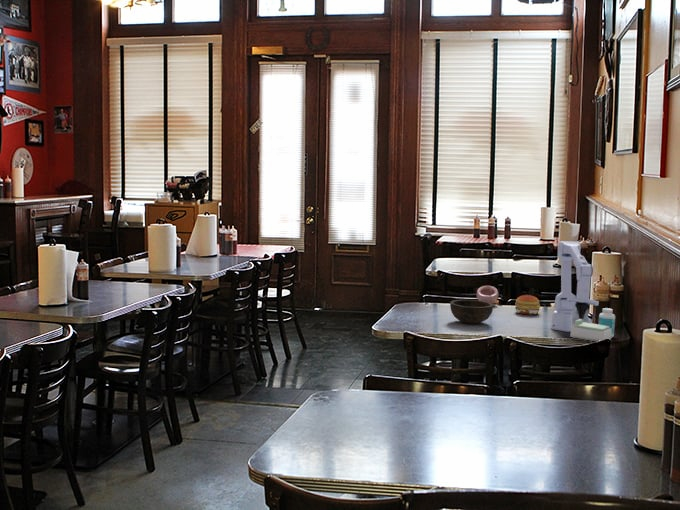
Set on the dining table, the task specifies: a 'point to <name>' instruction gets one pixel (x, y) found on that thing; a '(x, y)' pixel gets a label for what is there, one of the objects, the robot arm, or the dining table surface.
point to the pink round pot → (487, 294)
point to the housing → (590, 333)
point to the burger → (527, 304)
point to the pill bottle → (607, 319)
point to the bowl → (471, 310)
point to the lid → (589, 325)
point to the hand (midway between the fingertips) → (581, 318)
